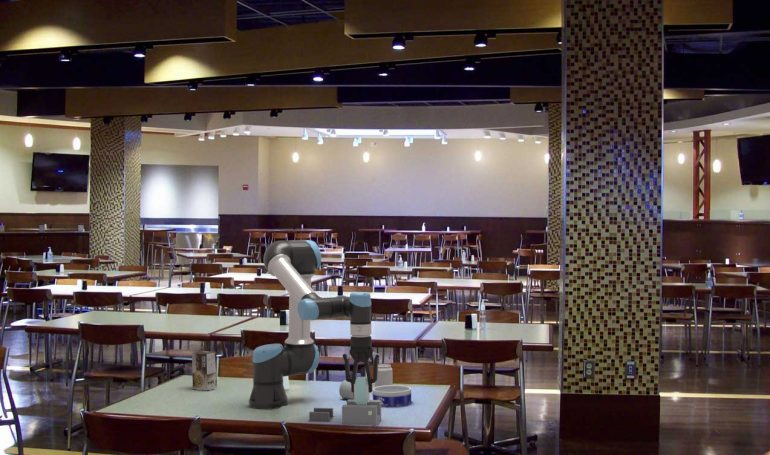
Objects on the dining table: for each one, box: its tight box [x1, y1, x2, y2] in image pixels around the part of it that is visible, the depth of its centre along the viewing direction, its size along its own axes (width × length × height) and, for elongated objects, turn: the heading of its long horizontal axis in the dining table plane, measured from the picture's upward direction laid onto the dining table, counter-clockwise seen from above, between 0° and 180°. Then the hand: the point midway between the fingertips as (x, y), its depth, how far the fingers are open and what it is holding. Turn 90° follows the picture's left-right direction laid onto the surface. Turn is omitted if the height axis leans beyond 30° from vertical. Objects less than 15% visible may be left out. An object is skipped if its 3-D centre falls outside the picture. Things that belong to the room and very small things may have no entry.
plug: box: [355, 376, 368, 405], centre depth 300 cm, size 4×4×12 cm
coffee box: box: [191, 350, 218, 391], centre depth 367 cm, size 9×6×16 cm
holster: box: [307, 407, 336, 423], centre depth 304 cm, size 8×9×4 cm
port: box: [341, 399, 382, 428], centre depth 300 cm, size 12×12×7 cm
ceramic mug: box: [338, 379, 356, 400], centre depth 343 cm, size 11×8×8 cm
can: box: [374, 363, 394, 388], centre depth 352 cm, size 8×8×12 cm
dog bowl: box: [372, 384, 412, 408], centre depth 333 cm, size 15×15×6 cm
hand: (362, 401), depth 301 cm, fingers closed on plug, 4 cm apart
